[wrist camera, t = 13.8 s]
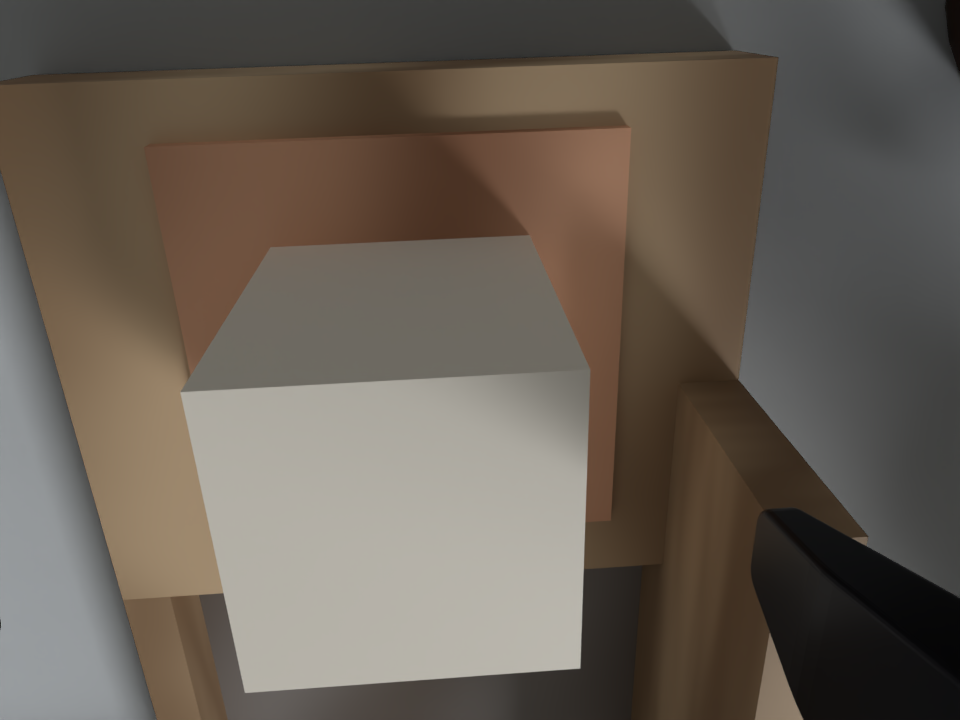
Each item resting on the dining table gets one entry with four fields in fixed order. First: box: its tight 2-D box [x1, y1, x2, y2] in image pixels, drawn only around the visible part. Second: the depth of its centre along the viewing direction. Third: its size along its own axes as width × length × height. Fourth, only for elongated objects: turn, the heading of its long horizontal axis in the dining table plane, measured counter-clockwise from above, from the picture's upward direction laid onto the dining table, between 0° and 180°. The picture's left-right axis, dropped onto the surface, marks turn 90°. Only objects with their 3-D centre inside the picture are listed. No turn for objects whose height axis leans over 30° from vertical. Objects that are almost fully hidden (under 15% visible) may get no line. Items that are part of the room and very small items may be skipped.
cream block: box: [180, 235, 590, 693], centre depth 12 cm, size 4×4×6 cm
